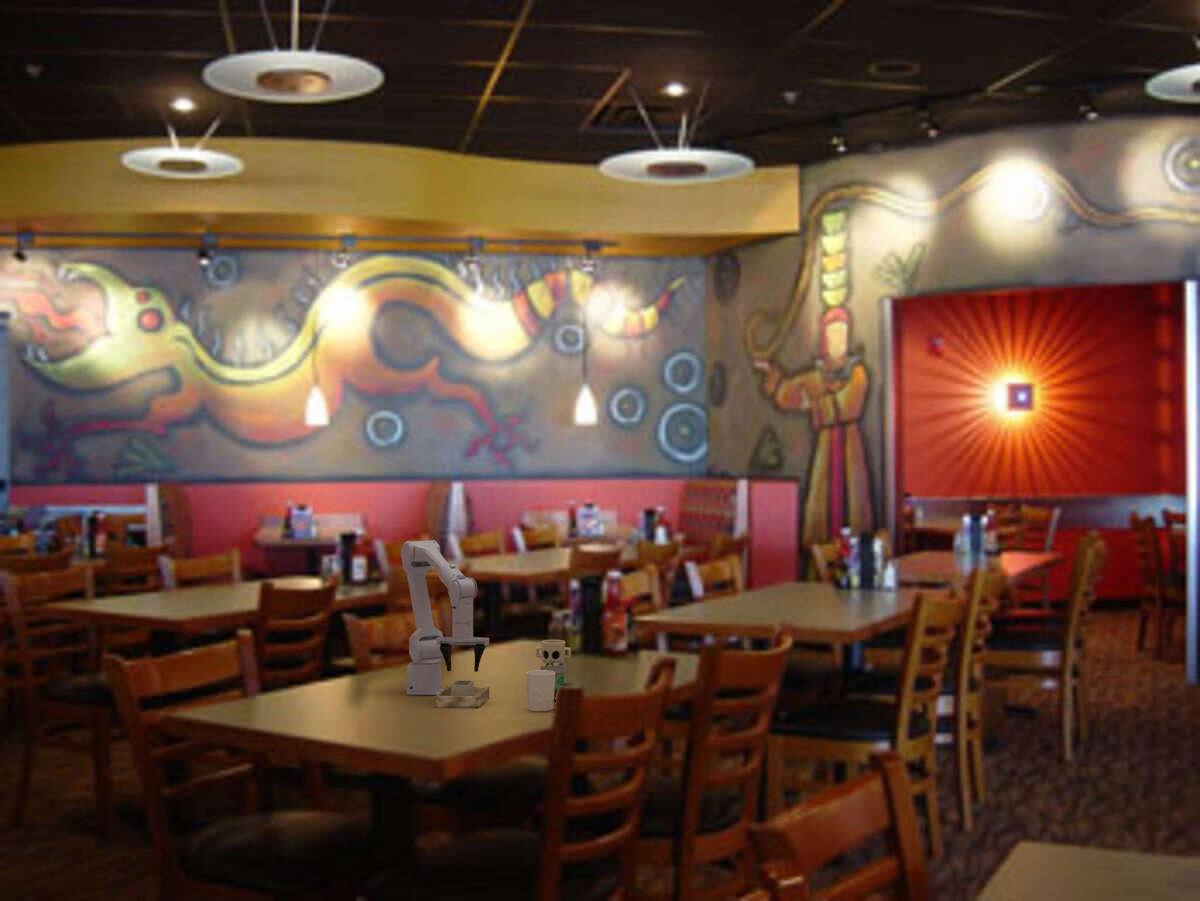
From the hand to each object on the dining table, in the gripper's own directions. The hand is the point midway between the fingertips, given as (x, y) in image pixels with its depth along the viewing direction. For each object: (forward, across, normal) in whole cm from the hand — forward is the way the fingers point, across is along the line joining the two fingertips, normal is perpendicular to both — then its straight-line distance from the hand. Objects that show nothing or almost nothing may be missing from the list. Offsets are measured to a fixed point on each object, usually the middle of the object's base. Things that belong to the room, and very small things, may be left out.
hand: (462, 671), depth 388 cm
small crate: (+8, 0, 0) cm, 8 cm away
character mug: (+9, +21, +32) cm, 39 cm away
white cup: (+9, +23, -8) cm, 26 cm away
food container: (+9, +25, +8) cm, 28 cm away
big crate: (+9, 0, 0) cm, 9 cm away
